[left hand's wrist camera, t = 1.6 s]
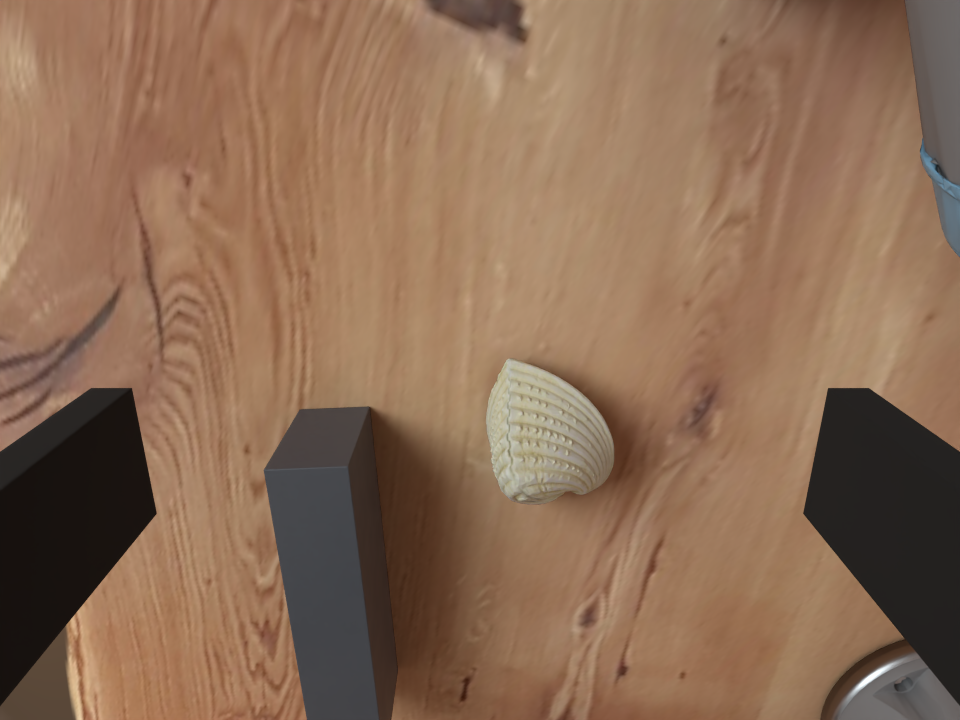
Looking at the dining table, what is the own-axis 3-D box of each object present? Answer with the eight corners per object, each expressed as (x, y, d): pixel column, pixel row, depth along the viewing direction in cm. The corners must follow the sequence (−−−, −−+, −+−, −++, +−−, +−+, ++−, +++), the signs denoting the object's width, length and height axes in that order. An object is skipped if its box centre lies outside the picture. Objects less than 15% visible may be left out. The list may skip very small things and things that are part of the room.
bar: (299, 409, 43) (263, 470, 36) (369, 406, 43) (348, 466, 36) (338, 672, 51) (314, 768, 43) (398, 670, 51) (385, 765, 43)
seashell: (514, 535, 44) (446, 496, 38) (518, 420, 48) (457, 370, 42) (631, 520, 40) (575, 474, 34) (623, 397, 44) (572, 338, 39)
